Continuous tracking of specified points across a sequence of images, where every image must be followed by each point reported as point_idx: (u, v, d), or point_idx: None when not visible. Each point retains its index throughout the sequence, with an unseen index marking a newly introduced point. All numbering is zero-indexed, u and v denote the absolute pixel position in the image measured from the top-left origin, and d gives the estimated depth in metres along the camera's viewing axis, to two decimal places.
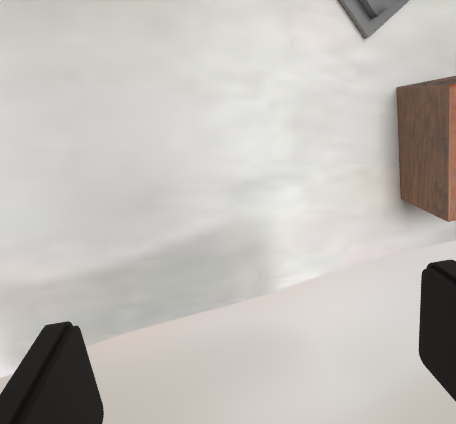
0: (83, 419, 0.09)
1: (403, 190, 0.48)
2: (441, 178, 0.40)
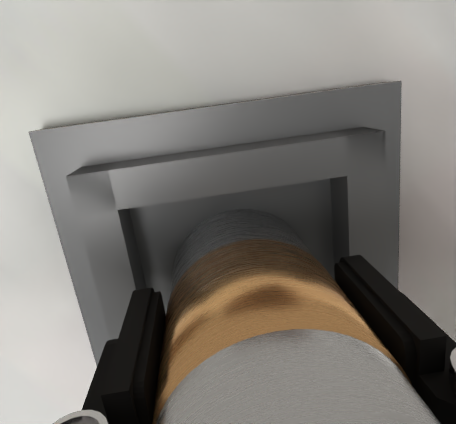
0: None
1: None
2: None
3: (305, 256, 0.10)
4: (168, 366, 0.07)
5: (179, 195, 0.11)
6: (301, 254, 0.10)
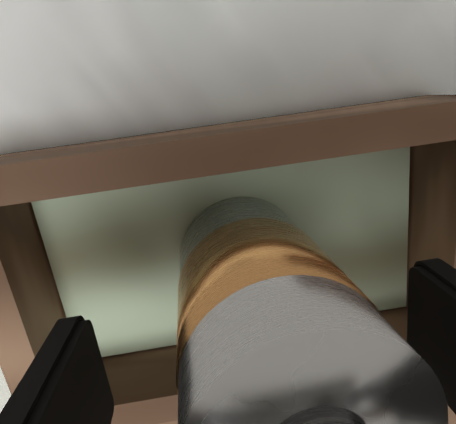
0: (95, 411, 0.09)
1: None
2: None
3: (296, 230, 0.11)
4: (187, 315, 0.09)
5: None
6: (293, 228, 0.11)
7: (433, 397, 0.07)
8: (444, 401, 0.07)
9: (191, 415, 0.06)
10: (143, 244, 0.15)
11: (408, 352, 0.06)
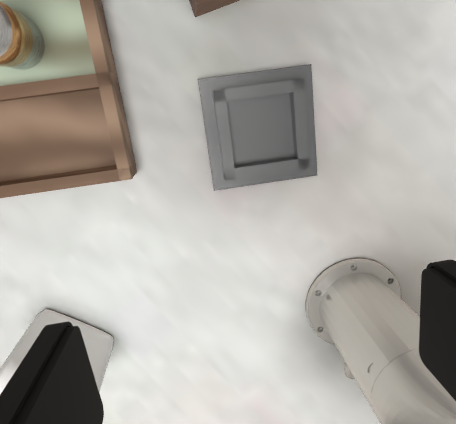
0: (83, 419, 0.09)
1: None
2: None
3: None
4: None
5: (244, 97, 0.38)
6: None
7: None
8: None
9: None
10: None
11: None
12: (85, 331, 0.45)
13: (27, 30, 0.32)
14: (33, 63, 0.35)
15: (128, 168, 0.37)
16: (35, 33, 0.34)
